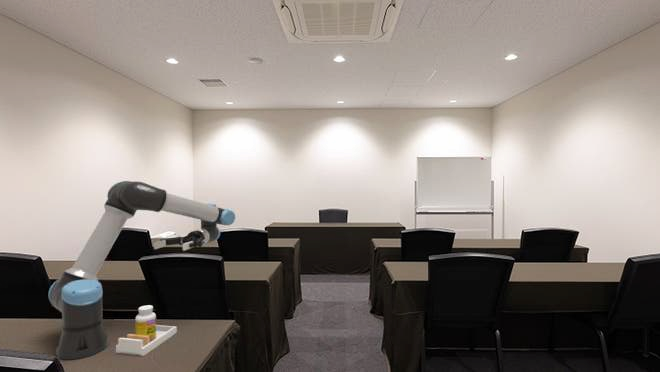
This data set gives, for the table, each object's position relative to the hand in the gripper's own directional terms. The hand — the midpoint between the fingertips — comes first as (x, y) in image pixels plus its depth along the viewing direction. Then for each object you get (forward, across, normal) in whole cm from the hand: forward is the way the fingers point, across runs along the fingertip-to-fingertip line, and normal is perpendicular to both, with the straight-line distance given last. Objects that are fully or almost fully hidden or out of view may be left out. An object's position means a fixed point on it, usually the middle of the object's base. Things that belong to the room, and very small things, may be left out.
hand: (168, 246), depth 146 cm
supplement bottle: (+19, -4, -32) cm, 37 cm away
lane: (+18, -4, -32) cm, 37 cm away
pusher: (+23, -4, -31) cm, 39 cm away
